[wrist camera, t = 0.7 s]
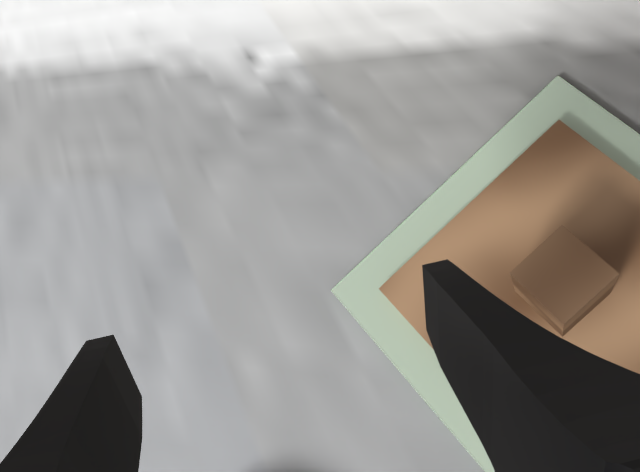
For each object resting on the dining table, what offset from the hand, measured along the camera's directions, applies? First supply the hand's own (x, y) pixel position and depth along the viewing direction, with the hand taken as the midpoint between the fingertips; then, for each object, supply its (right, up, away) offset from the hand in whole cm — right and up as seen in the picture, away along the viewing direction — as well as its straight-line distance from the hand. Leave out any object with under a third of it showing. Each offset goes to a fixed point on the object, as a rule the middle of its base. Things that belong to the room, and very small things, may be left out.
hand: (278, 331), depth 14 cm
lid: (+12, -1, +14) cm, 18 cm away
